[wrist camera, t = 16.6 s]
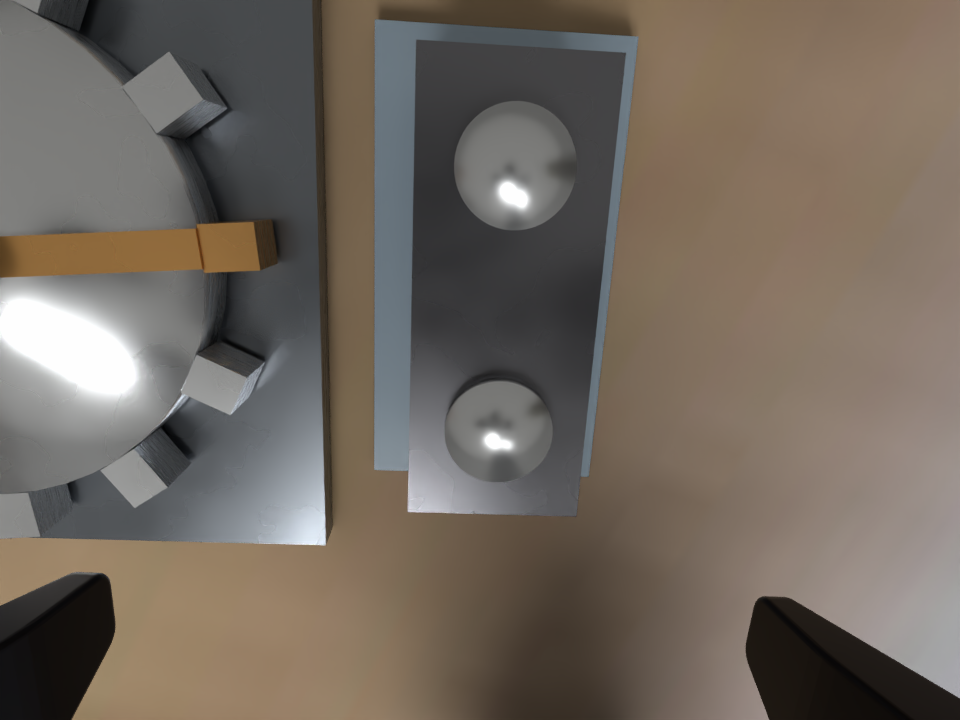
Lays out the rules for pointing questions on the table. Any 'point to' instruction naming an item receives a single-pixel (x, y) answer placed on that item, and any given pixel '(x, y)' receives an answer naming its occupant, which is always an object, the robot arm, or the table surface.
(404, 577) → the table surface
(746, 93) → the table surface
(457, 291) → the chain link
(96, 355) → the sprocket wheel
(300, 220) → the base plate
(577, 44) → the seat pad
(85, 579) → the robot arm
